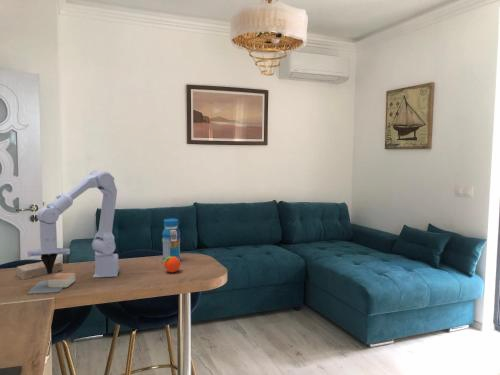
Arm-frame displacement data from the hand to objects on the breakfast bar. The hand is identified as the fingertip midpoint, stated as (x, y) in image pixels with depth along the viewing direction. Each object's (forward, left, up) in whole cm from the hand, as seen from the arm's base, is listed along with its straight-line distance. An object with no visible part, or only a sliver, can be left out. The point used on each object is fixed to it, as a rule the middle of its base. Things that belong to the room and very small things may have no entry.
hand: (50, 273), depth 162 cm
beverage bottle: (-46, -31, -6) cm, 56 cm away
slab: (-7, -1, -3) cm, 8 cm away
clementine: (-46, -12, -6) cm, 48 cm away
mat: (0, 0, -5) cm, 5 cm away
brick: (+10, -20, -6) cm, 23 cm away
